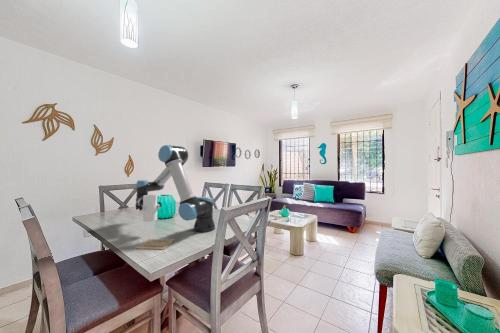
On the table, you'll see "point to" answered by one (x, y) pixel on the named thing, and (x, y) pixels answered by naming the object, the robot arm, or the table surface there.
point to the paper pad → (155, 244)
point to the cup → (150, 208)
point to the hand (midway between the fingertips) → (151, 208)
